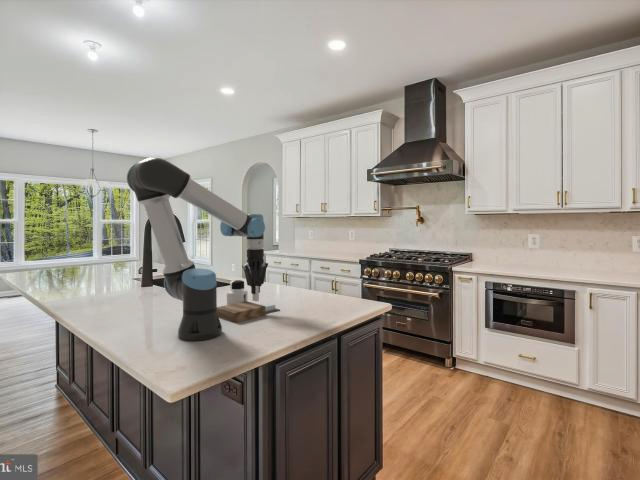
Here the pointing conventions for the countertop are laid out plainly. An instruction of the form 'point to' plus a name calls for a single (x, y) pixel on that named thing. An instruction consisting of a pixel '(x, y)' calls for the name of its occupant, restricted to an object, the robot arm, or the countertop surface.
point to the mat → (272, 310)
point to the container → (237, 292)
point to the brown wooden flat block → (240, 311)
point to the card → (268, 306)
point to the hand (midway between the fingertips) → (255, 300)
